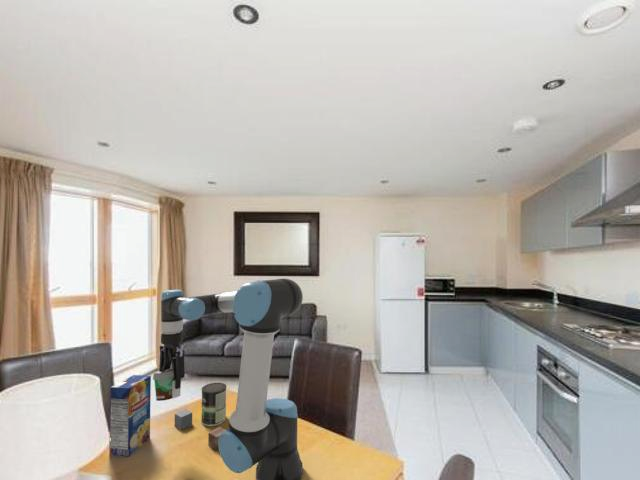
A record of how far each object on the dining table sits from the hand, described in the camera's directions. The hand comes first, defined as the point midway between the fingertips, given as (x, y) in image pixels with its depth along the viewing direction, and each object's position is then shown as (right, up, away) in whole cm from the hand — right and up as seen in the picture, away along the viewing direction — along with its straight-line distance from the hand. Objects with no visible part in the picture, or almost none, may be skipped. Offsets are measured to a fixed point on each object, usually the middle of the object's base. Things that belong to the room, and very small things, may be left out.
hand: (171, 394), depth 121 cm
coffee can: (+9, -21, +20) cm, 30 cm away
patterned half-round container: (+1, -1, 0) cm, 1 cm away
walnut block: (+17, -20, +2) cm, 26 cm away
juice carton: (-16, -20, +1) cm, 26 cm away
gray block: (-2, -21, +16) cm, 26 cm away
